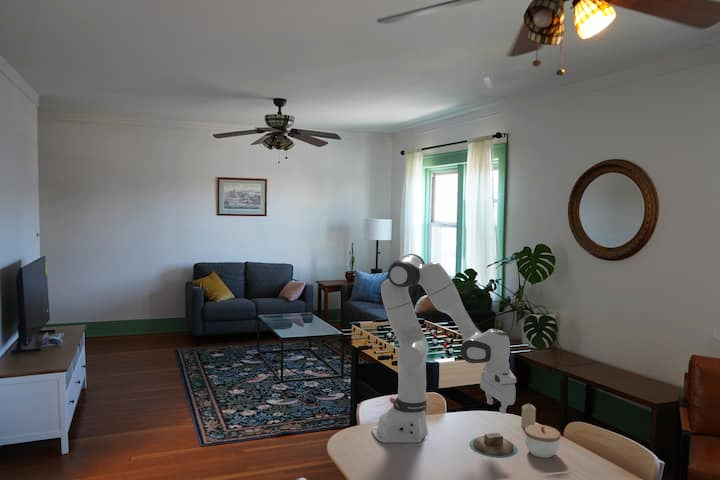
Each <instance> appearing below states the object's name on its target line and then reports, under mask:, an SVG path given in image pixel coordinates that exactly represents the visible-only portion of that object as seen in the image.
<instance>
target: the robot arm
mask: <svg viewBox="0 0 720 480" xmlns="http://www.w3.org/2000/svg"><path fill="white" fill-rule="evenodd" d="M387 277H388V278H387V279H385V280H384V281H382V283H381V285H380V293H381V294H380V295H381V299H382V303H383V304H382V305H383V307H384V308H383V309H384V311H385V314H386V316H387V319H388V323H389V325H390V329H391V330H392V332H393V333H394V335H395V337H396V339H397V341H398V344H399V347H398V350H397V375H398V386H397V390H398V391H397V397H396V398H394V397H393V396H391V397H390V398H389V402H390V403H392V406H391V408H389V409H388V410H386V411H385V412H384V413H383V414H381V415H380V416H379V419H378V424H377V425H375V426H373V427H372V429H371V430H372V431H371V432H372V433H371V434H372V435H373V436H374V438H375V439H377V440H378V441H380V442H381V443H384V444H385V443H386V444H388V443H389V444H390V443H391V444H392V443H395V444H397V443H398V444H401V443H402V444H403V443H407V444H408V443H421V442H423V439H425V438H426V437H427V436H428V435H429V431H428V426H427V415H426V413H427V407H428V405H427V398H426V397H427V396H426V395H427V394H426V393H427V367H426V365H427V355H428V353H429V352H428V351H429V343H428V341H427V338H426V336H425V333H424V330H423V329H422V326H421V324H420V322H419V320H418V317H417V314H416V311H415V308H414V304H413V302H412V298H411V296H410V293H409V287H412V286H417V285H420V286H421V287H422V288H423V290H424V291H425V293H426V295H427V297H428V299H429V301H430V303H431V304H432V305H433V307H434V308H435V309H436V310H437V311H439V312H441V313H444V314H447V315H448V316H449V317H450V318H451V319H452V320H453V322H454V324H455V325H456V327H457V329H458V331H459V333H460V334H461V335H462V344H461V345H460V350H459V351H460V355H461V357H462V359H463V361H465V362H466V363H469V364H483V363H485V365H484V367H483V368H482V371H481V372H480V379H479V380H480V381H479V386H480V389H481V390H482V391H484V392H485V396H486V403H487V404H488V405H493V404H494V400H493V398H494V399H496V400H497V401H499V402H500V405H501V406H500V407H499V413H501V414H502V415H503V414H506V412H507V408H508V407H509V406H512V405H514V404H515V402H516V385H515V384H516V383H517V377H516V376H515V374H514V373H513V372H512V370H511V368H510V362H509V357H510V354H511V352H510V351H511V348H510V347H511V343H510V337H509V335H508V333H507V332H505V331H503V330H501V329H498V328H489V329H488V330H486V331H485V332H483V331H481V330H480V329H479V328H478V327H477V326H476V325H475V323H474V321H473V320H472V318H471V317H470V315H469V313H468V312H467V310H466V307H465V306H464V304H463V301H462V299H461V296H460V293H459V291H458V289H457V286H456V285H455V283H454V282H453V280H452V278H451V276H450V275H449V273H447V271H446V269H445V268H444V267H443V266H442V265H441V263H439V262H437V261H430V262H427V263H425V260H424V259H423V258H422V257H421V256H420V255H418V254H416V253H408V254H405V255H403V256H401V257H399V258H397V260H395V261H393V262H392V263H391V264H390V266H389V268H388V271H387Z"/></svg>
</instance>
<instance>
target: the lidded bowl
mask: <svg viewBox="0 0 720 480" xmlns="http://www.w3.org/2000/svg"><path fill="white" fill-rule="evenodd" d="M524 440H525V446H526V448H527V450H528V452H530V453H531V454H532V455H533V456H534V457H537V458H542V459H550V458H551V457H553V456H555V455H556V453H557V452H558V450H559V446H560V443H561V432H560V431H559V430H558V429H556V428H554V427H552V426H548V425H544V424H535V425H529V426H527V427H526V428H524Z"/></svg>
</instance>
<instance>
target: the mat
mask: <svg viewBox="0 0 720 480" xmlns="http://www.w3.org/2000/svg"><path fill="white" fill-rule="evenodd" d="M476 438H477V437H475V438H473V439H471V440H470V441H469V448H470V449H471V450H472V451H473V452H476V453H478V454H479V455H482V456H486V457H489V458H496V459H497V458H498V459H503V458H504V459H505V458H511V457H513V456H516V454H517V453H518V451H519V449H518V447H517V446H516V444H514V443H513V442H511V443H512V444H513V445H514V451H513V452H512V453H511V454H509V455H504V456H494V455H488V454H485V453H482V452H480V451H478V450H477V449H475V447H474V446H473V441H474V439H476Z"/></svg>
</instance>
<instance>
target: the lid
mask: <svg viewBox="0 0 720 480" xmlns="http://www.w3.org/2000/svg"><path fill="white" fill-rule="evenodd" d="M475 438H476V439H475ZM475 438H473V439H474V441H473V446H474V447H475V449H477V450H478V451H480V452H482V453H485V454H488V455H494V456H504V455H509V454H511V453H512V452H513V451H514V445H515V444H514V443H513V442H512V441H510V440H508V439H506V438H504V435H502V434H501V433H499V432H491V433H484V435H482V436H477V437H475ZM512 443H513V444H514V445H513V444H512Z"/></svg>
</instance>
